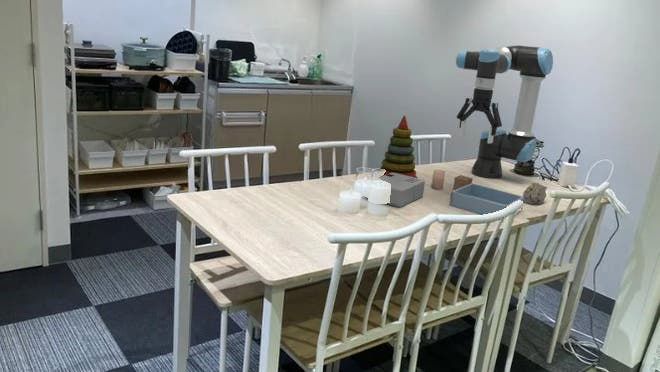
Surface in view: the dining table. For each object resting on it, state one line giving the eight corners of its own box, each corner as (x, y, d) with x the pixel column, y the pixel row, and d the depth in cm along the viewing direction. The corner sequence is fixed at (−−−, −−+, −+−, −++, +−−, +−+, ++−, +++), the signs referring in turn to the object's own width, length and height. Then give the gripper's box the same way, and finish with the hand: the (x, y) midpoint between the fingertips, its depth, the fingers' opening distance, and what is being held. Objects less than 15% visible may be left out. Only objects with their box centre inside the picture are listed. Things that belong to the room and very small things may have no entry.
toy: (374, 170, 268) (380, 110, 259) (413, 173, 269) (421, 113, 261) (378, 182, 249) (386, 117, 241) (421, 185, 251) (430, 121, 242)
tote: (469, 195, 241) (471, 183, 239) (521, 210, 227) (524, 196, 225) (449, 204, 226) (451, 191, 224) (504, 220, 212) (506, 206, 210)
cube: (458, 187, 252) (460, 175, 250) (470, 190, 249) (472, 178, 247) (453, 189, 248) (454, 177, 246) (465, 193, 244) (467, 180, 242)
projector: (424, 197, 234) (426, 180, 232) (400, 209, 217) (402, 190, 214) (390, 188, 243) (392, 171, 241) (364, 198, 225) (366, 181, 223)
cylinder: (434, 185, 251) (437, 169, 249) (444, 188, 248) (447, 171, 246) (429, 187, 248) (432, 170, 245) (439, 190, 245) (441, 173, 242)
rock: (531, 204, 232) (538, 181, 232) (519, 201, 237) (525, 179, 237) (548, 209, 238) (554, 188, 238) (535, 207, 244) (541, 185, 244)
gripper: (453, 84, 227) (445, 134, 233) (506, 93, 210) (497, 146, 216) (463, 84, 232) (456, 132, 238) (516, 92, 215) (507, 145, 221)
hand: (475, 139), depth 227 cm, fingers open, 13 cm apart
